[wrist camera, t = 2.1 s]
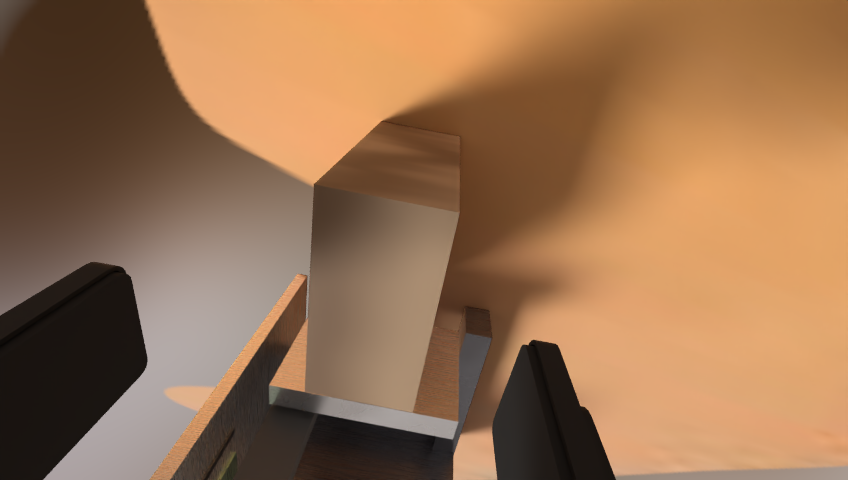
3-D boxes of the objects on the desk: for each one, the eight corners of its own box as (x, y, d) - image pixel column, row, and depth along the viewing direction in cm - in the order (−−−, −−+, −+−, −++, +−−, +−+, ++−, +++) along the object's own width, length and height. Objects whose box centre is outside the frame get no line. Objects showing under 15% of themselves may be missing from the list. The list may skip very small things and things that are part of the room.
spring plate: (459, 331, 22) (458, 421, 17) (449, 365, 23) (446, 460, 18) (315, 303, 22) (269, 385, 17) (313, 339, 23) (269, 426, 18)
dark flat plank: (349, 326, 23) (280, 498, 14) (348, 336, 24) (280, 510, 15) (317, 319, 23) (227, 488, 14) (316, 330, 24) (229, 500, 15)
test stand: (489, 310, 24) (516, 561, 12) (449, 436, 29) (442, 692, 18) (297, 273, 24) (142, 488, 12) (293, 406, 29) (184, 642, 18)
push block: (460, 136, 19) (459, 212, 10) (431, 270, 23) (412, 412, 14) (381, 121, 19) (313, 184, 10) (365, 257, 23) (304, 391, 14)
